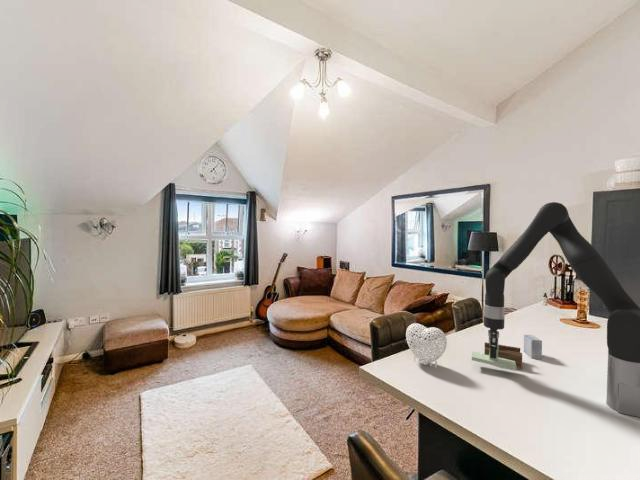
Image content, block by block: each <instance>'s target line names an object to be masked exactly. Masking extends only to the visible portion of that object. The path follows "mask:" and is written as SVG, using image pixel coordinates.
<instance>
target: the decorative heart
mask: <svg viewBox="0 0 640 480" xmlns="http://www.w3.org/2000/svg"><path fill="white" fill-rule="evenodd" d="M405 338H406V339H405V340H406V342H407V345H408V347H409V349H410V351H411V353H412V354H413V362H416V359H417V360H418V361H417V362H418V363H421V364H423V365H424V366H426V365H427V366H428V365H429V364H430V365H429V366H430V367H432V365H433V364H432V363H433V362H435V363H434V364H435V368H436V369H437V367H438V361H437V360H438V359H440V358H441V357H442V356H443V355H444V353H445V351H446V349H447V345H448V344H447V343H448V340H447V337H446V334H445V332H443V330H441V329H440V328H437V327H434V326H433V327H432V326H431V327H427V326H424V324H420V323H418V322H417V323H416V322H414V323H411V324H410V325H409V326H407V328H406V332H405Z"/></svg>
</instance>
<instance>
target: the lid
mask: <svg viewBox="0 0 640 480" xmlns="http://www.w3.org/2000/svg"><path fill="white" fill-rule="evenodd" d="M499 345H500V344H499ZM499 345H497V350H496V359H494V358H490V353H489V355H485V354H484V353H480V352H476V351H472V352H471V354H472V355H471V361H474V362H477V363H478V362H479V363H481V364H487V365H490V366H494V367H495V366H496V367H499V368H504V369H509V370H513V371H517V369H518V368H517V367H516V363H515V361H512V360H508V359H503V358H499V357H498V350H499ZM492 346H494V345H492ZM494 347H495V346H494Z"/></svg>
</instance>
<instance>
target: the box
mask: <svg viewBox="0 0 640 480" xmlns="http://www.w3.org/2000/svg"><path fill="white" fill-rule="evenodd" d="M497 345H499V350H498V357H499V358H503V359H508V360H512V361H515V363H516V367H517V368H516V369H521V370H522V369H523V352H521V347H516V346H510V345H503V344H499V343H498V344H497ZM489 353H490V345H489V342H487V341H486V342H484V353H483V354H485V355H489Z"/></svg>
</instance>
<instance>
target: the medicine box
mask: <svg viewBox="0 0 640 480" xmlns="http://www.w3.org/2000/svg"><path fill="white" fill-rule="evenodd" d="M523 352H524V354H526V355H528V356H529V357H530V358H531V359H538V360H541V359H543V341H542V339H540V338H539V337H537V336H536V335H534V334H524V335H523Z"/></svg>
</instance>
